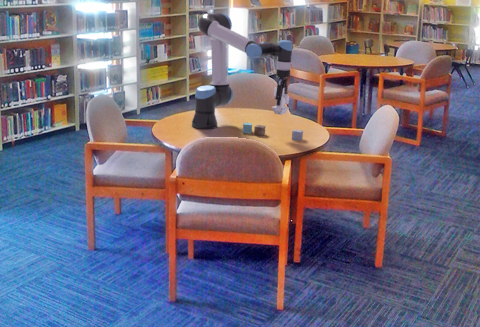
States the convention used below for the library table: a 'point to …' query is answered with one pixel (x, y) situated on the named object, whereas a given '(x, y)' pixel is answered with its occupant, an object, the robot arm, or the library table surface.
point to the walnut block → (259, 130)
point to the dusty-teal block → (247, 127)
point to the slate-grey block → (297, 135)
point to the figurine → (283, 108)
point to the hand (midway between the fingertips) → (280, 109)
